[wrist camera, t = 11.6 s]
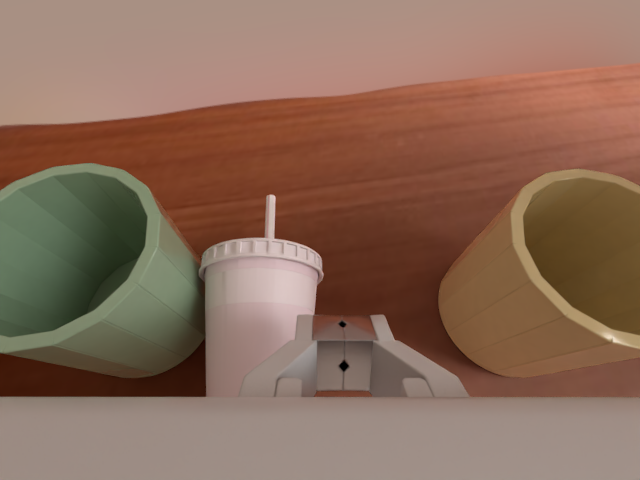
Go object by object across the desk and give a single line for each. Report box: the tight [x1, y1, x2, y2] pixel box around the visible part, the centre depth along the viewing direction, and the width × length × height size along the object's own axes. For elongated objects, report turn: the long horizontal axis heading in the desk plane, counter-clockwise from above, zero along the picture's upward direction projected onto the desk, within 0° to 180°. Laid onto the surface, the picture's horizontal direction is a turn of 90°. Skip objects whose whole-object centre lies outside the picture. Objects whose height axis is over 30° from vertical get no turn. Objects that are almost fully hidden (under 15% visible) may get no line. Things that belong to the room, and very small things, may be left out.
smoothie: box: [199, 195, 324, 397], centre depth 17 cm, size 6×6×14 cm
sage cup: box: [0, 163, 206, 378], centre depth 16 cm, size 8×8×8 cm
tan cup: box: [438, 168, 640, 378], centre depth 16 cm, size 8×8×8 cm
